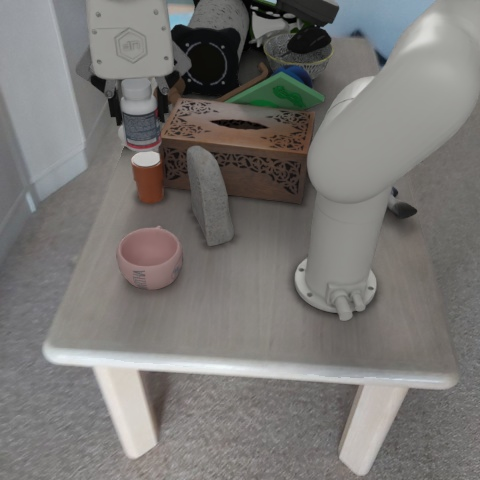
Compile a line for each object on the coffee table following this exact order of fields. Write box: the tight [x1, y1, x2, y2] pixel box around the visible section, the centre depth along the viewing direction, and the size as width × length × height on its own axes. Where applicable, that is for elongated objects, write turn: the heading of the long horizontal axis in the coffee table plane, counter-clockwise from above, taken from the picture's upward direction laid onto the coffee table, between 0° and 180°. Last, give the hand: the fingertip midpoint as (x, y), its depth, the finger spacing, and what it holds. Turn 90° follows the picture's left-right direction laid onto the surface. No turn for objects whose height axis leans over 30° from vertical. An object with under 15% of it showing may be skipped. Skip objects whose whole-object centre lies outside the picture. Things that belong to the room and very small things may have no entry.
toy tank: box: [250, 0, 316, 53], centre depth 142 cm, size 9×25×10 cm
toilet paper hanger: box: [152, 61, 269, 107], centre depth 121 cm, size 25×9×8 cm, turn 127°
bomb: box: [270, 65, 314, 90], centre depth 121 cm, size 10×11×15 cm
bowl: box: [263, 33, 335, 81], centre depth 130 cm, size 16×16×8 cm
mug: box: [116, 225, 184, 291], centre depth 86 cm, size 12×10×6 cm
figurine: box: [249, 12, 304, 47], centre depth 133 cm, size 8×15×12 cm
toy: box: [225, 71, 326, 111], centre depth 105 cm, size 22×3×10 cm
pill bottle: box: [119, 78, 162, 153], centre depth 78 cm, size 5×5×9 cm
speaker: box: [171, 0, 253, 97], centre depth 129 cm, size 15×29×15 cm, turn 173°
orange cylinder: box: [130, 150, 165, 204], centre depth 99 cm, size 5×5×8 cm
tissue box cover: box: [158, 97, 316, 205], centre depth 103 cm, size 26×14×10 cm, turn 79°
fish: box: [387, 185, 418, 219], centre depth 102 cm, size 23×4×10 cm
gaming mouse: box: [281, 25, 332, 57], centre depth 125 cm, size 6×15×4 cm, turn 133°
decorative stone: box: [187, 146, 235, 247], centre depth 91 cm, size 11×6×15 cm, turn 21°
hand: (140, 118), depth 78 cm, fingers closed on pill bottle, 5 cm apart
